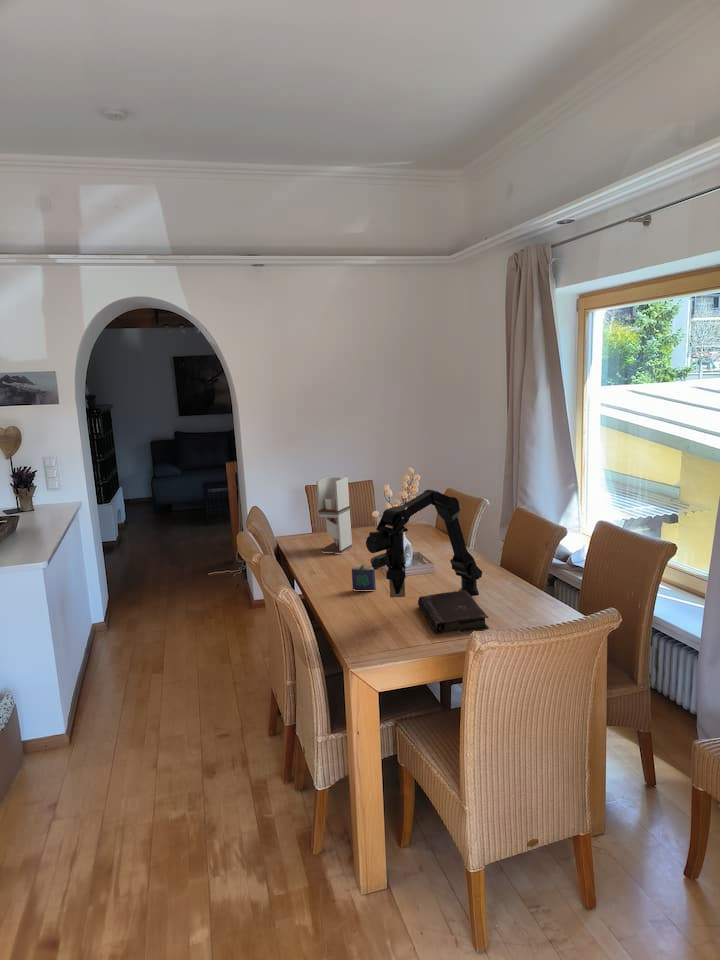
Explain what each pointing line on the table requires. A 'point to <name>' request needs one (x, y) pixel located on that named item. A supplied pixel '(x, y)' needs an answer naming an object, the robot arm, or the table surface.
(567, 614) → the table surface
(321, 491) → the display case
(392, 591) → the metal block
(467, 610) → the diary
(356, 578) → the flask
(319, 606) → the table surface
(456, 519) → the robot arm
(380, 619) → the table surface
